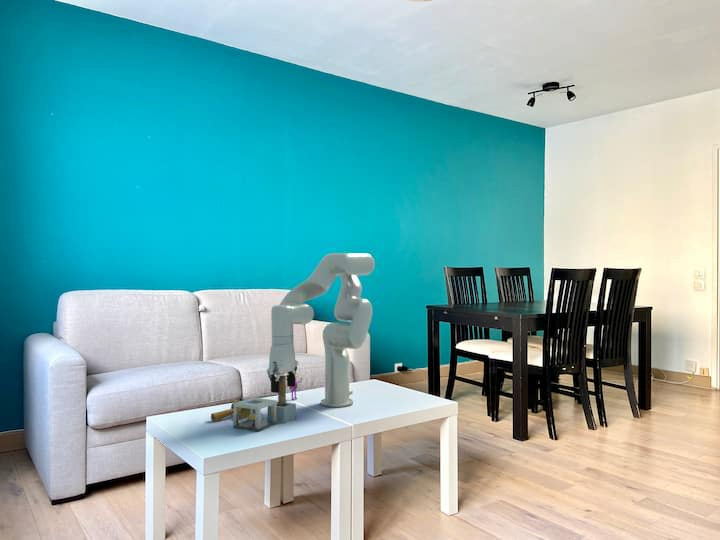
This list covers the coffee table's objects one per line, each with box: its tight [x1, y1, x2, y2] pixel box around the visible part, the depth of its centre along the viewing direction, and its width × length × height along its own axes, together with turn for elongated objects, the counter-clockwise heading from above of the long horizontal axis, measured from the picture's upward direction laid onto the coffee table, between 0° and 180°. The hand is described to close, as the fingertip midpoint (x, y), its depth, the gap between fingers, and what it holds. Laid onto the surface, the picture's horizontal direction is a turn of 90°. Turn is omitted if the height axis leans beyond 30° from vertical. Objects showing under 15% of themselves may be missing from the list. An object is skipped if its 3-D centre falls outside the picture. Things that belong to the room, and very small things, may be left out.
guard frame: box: [232, 396, 278, 433], centre depth 177 cm, size 10×10×8 cm
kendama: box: [210, 397, 257, 423], centre depth 188 cm, size 8×6×18 cm
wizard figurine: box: [285, 372, 303, 401], centre depth 215 cm, size 11×3×12 cm, turn 151°
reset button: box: [248, 414, 255, 422], centre depth 177 cm, size 4×4×2 cm
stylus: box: [277, 374, 287, 407], centre depth 185 cm, size 3×3×15 cm
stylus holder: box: [266, 401, 297, 424], centre depth 185 cm, size 7×7×5 cm
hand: (283, 389), depth 186 cm, fingers open, 9 cm apart
